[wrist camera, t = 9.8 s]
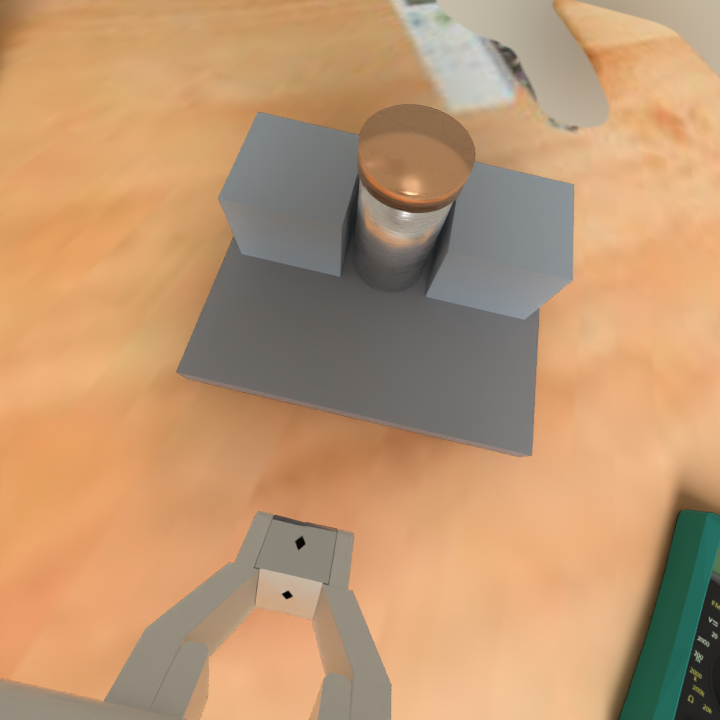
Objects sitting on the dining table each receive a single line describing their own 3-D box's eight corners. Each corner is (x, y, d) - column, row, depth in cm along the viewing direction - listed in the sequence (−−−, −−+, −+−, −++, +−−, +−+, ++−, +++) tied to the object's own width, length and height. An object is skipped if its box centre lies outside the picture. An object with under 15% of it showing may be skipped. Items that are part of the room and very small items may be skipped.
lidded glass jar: (342, 284, 23) (346, 176, 15) (359, 221, 25) (372, 93, 16) (420, 302, 23) (468, 205, 15) (431, 238, 25) (480, 118, 16)
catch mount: (186, 378, 22) (128, 341, 16) (267, 181, 27) (247, 97, 21) (519, 457, 22) (591, 449, 16) (532, 243, 27) (589, 176, 21)
